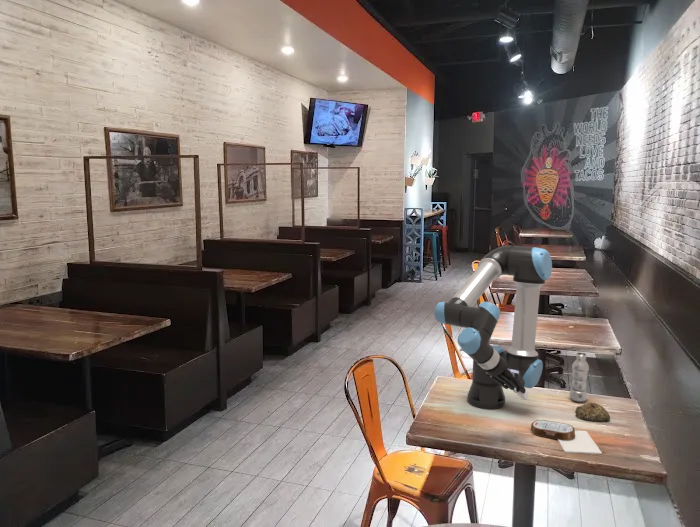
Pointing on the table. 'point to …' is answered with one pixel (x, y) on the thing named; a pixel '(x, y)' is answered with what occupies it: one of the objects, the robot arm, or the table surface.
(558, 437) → the tin
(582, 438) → the rubber mat
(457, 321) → the robot arm
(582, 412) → the mossy rock
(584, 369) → the plastic bottle
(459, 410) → the table surface
